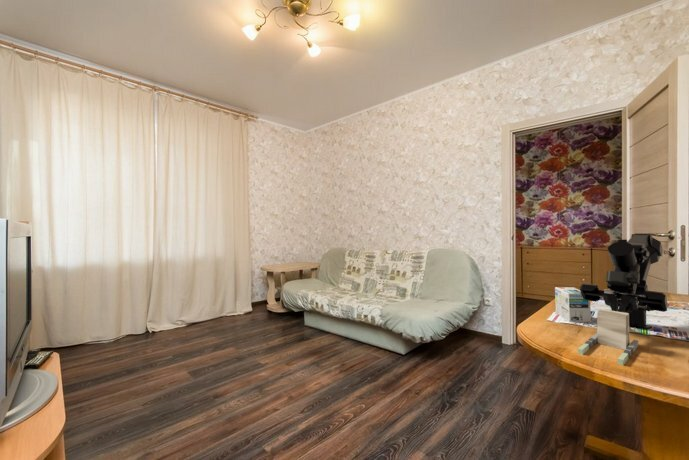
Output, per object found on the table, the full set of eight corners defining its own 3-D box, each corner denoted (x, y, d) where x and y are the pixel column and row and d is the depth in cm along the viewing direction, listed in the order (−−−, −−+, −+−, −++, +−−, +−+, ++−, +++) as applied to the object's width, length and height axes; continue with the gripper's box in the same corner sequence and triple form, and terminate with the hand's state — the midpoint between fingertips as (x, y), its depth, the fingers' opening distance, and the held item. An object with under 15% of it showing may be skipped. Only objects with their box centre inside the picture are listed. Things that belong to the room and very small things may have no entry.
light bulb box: (591, 325, 103) (591, 293, 103) (569, 325, 105) (568, 293, 104) (574, 315, 114) (574, 286, 113) (554, 315, 115) (553, 286, 115)
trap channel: (597, 339, 92) (597, 332, 92) (638, 348, 85) (638, 340, 85) (578, 357, 81) (578, 348, 81) (623, 369, 74) (623, 360, 74)
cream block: (601, 339, 89) (601, 308, 89) (629, 345, 85) (629, 313, 84) (597, 343, 87) (597, 311, 87) (626, 350, 82) (625, 316, 82)
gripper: (581, 258, 98) (569, 298, 91) (665, 263, 83) (658, 311, 76) (589, 279, 103) (578, 319, 96) (670, 287, 88) (664, 335, 81)
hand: (615, 320), depth 87 cm, fingers closed
